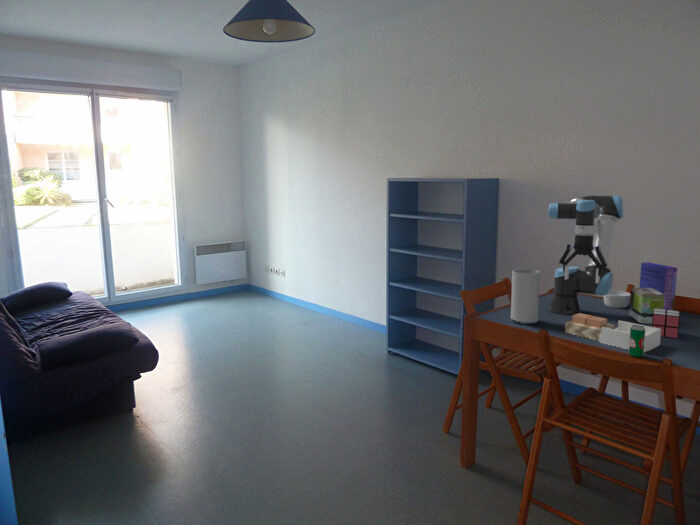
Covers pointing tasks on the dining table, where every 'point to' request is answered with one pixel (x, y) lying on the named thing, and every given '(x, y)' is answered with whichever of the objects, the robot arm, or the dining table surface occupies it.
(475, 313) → the dining table surface
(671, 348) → the dining table surface
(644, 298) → the tea box
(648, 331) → the box
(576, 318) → the rear tile
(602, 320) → the front tile
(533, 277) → the cylinder vase
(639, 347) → the soda can
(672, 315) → the puzzle cube
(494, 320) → the dining table surface
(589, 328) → the birch plate
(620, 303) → the ramekin
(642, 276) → the cereal box
